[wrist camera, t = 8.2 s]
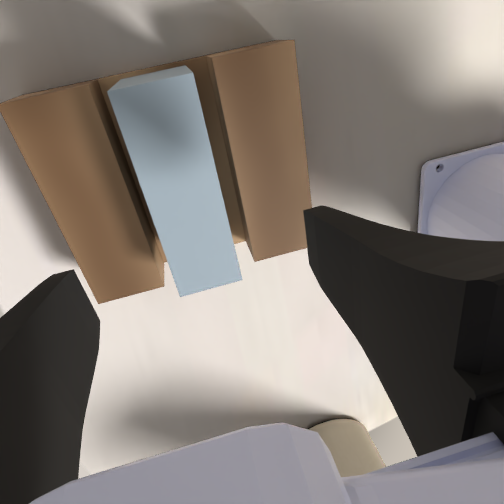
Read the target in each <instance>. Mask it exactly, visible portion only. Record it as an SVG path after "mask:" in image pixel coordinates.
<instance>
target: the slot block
mask: <svg viewBox="0 0 504 504" xmlns="http://www.w3.org/2000/svg"><path fill="white" fill-rule="evenodd" d="M184 65H186V66H187V67H188V68H189V69H190V70H191V71H192V72H193V74H194V79H195V83H196V87H197V91H198V95H199V100H200V104H201V108H202V112H203V116H204V121H205V125H206V129H207V133H208V137H209V142H210V146H211V150H212V154H213V158H214V163H215V167H216V171H217V175H218V179H219V184H220V188H221V192H222V196H223V200H224V205H225V209H226V213H227V217H228V221H229V226H230V230H231V234H232V238H233V242H234V244H236V243H240V242H244V241H246V242H247V245H248V247H249V250H250V252H251V254H252V257H253V259H254V261H255V262H256V261H260V260H263V259H267V258H271V257H275V256H278V255H282V254H286V253H289V252H293V251H297V250H300V249H304V248H307V240H306V231H305V222H304V214H303V210H306V209H310V208H312V205H311V195H310V185H309V176H308V166H307V157H306V147H305V137H304V128H303V118H302V109H301V99H300V89H299V80H298V70H297V61H296V51H295V41H294V40H275V41H270V42H266V43H261V44H256V45H252V46H247V47H242V48H238V49H233V50H229V51H224V52H219V53H215V54H210V55H205V56H201V57H196V58H192V59H187V60H182V61H178V62H173V63H168V64H164V65H159V66H155V67H150V68H145V69H141V70H136V71H131V72H127V73H122V74H118V75H113V76H108V77H104V78H99V79H94V80H90V81H85V82H81V83H76V84H71V85H67V86H62V87H57V88H53V89H48V90H44V91H39V92H34V93H30V94H25V95H21V96H18V97H16V98H13V99H10V100H8V101H5V102H2V103H0V112H1V114H2V116H3V118H4V120H5V122H6V124H7V126H8V128H9V130H10V131H11V133H12V135H13V137H14V139H15V141H16V143H17V145H18V147H19V149H20V151H21V153H22V155H23V157H24V159H25V161H26V163H27V165H28V167H29V169H30V171H31V173H32V175H33V177H34V179H35V181H36V183H37V184H38V186H39V188H40V190H41V192H42V194H43V196H44V198H45V200H46V202H47V204H48V206H49V208H50V210H51V212H52V214H53V216H54V218H55V220H56V222H57V224H58V226H59V228H60V230H61V232H62V234H63V236H64V237H65V239H66V241H67V243H68V245H69V247H70V249H71V251H72V253H73V255H74V257H75V259H76V261H77V263H78V265H79V267H80V269H81V271H82V273H83V275H84V277H85V279H86V281H87V283H88V285H89V287H90V288H91V290H92V292H93V294H94V296H95V298H96V300H97V302H98V304H101V303H104V302H108V301H112V300H115V299H119V298H123V297H127V296H130V295H134V294H138V293H141V292H145V291H149V290H152V289H156V288H160V287H164V262H168V261H167V259H166V256H165V253H164V250H163V247H162V245H161V242H160V239H159V236H158V233H157V231H156V228H155V225H154V222H153V219H152V216H151V214H150V211H149V208H148V205H147V202H146V200H145V197H144V194H143V191H142V188H141V186H140V183H139V180H138V177H137V174H136V172H135V169H134V166H133V163H132V160H131V158H130V155H129V152H128V149H127V146H126V144H125V141H124V138H123V135H122V132H121V130H120V127H119V124H118V121H117V118H116V116H115V113H114V110H113V107H112V104H111V102H110V99H109V96H108V93H107V91H108V90H109V89H110V88H111V87H113V86H114V85H115V84H116V83H117V82H118V81H119V80H120V79H124V78H129V77H133V76H138V75H143V74H147V73H152V72H156V71H161V70H165V69H170V68H175V67H179V66H184Z"/></svg>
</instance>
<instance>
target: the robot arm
mask: <svg viewBox="0 0 504 504" xmlns="http://www.w3.org/2000/svg"><path fill="white" fill-rule="evenodd" d="M439 164H440V166H439V168H438V169H437V170H436V167H437V166H438V165H439ZM303 214H304V222H305V231H306V240H307V248H308V257H309V264H310V266H311V269H312V271H313V273H314V275H315V277H316V279H317V281H318V283H319V285H320V287H321V288H322V290H323V291H324V293H325V294H326V296H327V297H328V298H329V300H330V301H331V303H332V304H333V306H334V307H335V308H336V310H337V311H338V313H339V314H340V316H341V317H342V318H343V320H344V321H345V323H346V324H347V325H348V327H349V328H350V330H351V331H352V333H353V334H354V335H355V337H356V338H357V340H358V342H359V343H360V345H361V346H362V348H363V350H364V352H365V353H366V355H367V357H368V359H369V361H370V363H371V364H372V366H373V368H374V370H375V372H376V374H377V375H378V377H379V379H380V381H381V383H382V385H383V387H384V389H385V391H386V393H387V395H388V397H389V399H390V400H391V402H392V404H393V406H394V408H395V411H396V413H397V415H398V417H399V419H400V420H401V423H402V425H403V427H404V429H405V431H406V433H407V435H408V437H409V439H410V441H411V443H412V446H413V448H414V450H415V452H416V454H417V456H418V457H415V458H412V459H409V460H406V461H403V462H400V463H397V464H394V465H391V466H388V467H384V468H381V469H378V470H375V471H372V472H369V473H366V474H363V475H357V476H349V477H341V476H340V474H339V471H338V469H337V467H336V464H335V462H334V459H333V457H332V454H331V452H330V450H329V449H328V447H327V446H326V444H325V443H324V441H323V439H322V438H321V436H320V435H319V433H318V432H315V431H312V430H308V429H305V428H301V427H297V426H294V425H290V424H287V423H283V422H281V423H273V424H266V425H258V426H251V427H245V428H242V429H239V430H236V431H232V432H229V433H226V434H223V435H219V436H216V437H213V438H210V439H206V440H203V441H200V442H197V443H193V444H190V445H187V446H184V447H180V448H177V449H174V450H171V451H167V452H164V453H161V454H158V455H154V456H151V457H148V458H145V459H141V460H138V461H135V462H132V463H128V464H125V465H122V466H119V467H115V468H112V469H109V470H106V471H102V472H99V473H96V474H93V475H89V476H86V477H83V478H80V479H78V472H79V460H80V449H81V439H82V429H83V423H84V417H85V412H86V408H87V403H88V398H89V394H90V389H91V384H92V380H93V375H94V371H95V366H96V361H97V356H98V350H99V338H100V320H99V318H98V316H97V314H96V312H95V310H94V308H93V306H92V304H91V302H90V300H89V298H88V296H87V295H86V293H85V291H84V289H83V287H82V285H81V283H80V281H79V279H78V277H77V275H76V273H75V271H74V269H73V270H69V271H65V272H61V273H58V274H54V275H52V276H50V277H49V278H47V279H46V280H44V281H43V282H42V283H41V284H39V285H38V286H37V287H36V288H35V289H33V290H32V291H31V292H30V293H29V294H28V295H26V296H25V297H24V298H23V299H22V300H21V301H19V302H18V303H17V304H16V305H15V306H14V307H13V308H11V309H10V310H9V311H8V312H7V313H6V314H5V315H3V316H2V317H1V318H0V504H504V142H500V143H496V144H492V145H488V146H484V147H480V148H476V149H473V150H469V151H465V152H461V153H457V154H453V155H449V156H445V157H441V158H437V159H434V160H430V161H427V162H426V163H425V164H424V165H423V167H422V170H421V183H420V200H419V216H418V232H417V233H416V232H411V231H406V230H402V229H398V228H394V227H390V226H386V225H382V224H379V223H376V222H372V221H369V220H366V219H363V218H360V217H357V216H354V215H351V214H348V213H345V212H342V211H339V210H336V209H333V208H330V207H326V206H318V207H314V208H310V209H306V210H303Z"/></svg>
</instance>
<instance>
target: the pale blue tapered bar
mask: <svg viewBox="0 0 504 504" xmlns="http://www.w3.org/2000/svg"><path fill="white" fill-rule="evenodd" d="M107 93H108V96H109V99H110V102H111V104H112V107H113V110H114V113H115V116H116V118H117V121H118V124H119V127H120V130H121V132H122V135H123V138H124V141H125V144H126V146H127V149H128V152H129V155H130V158H131V160H132V163H133V166H134V169H135V172H136V174H137V177H138V180H139V183H140V186H141V188H142V191H143V194H144V197H145V200H146V202H147V205H148V208H149V211H150V214H151V216H152V219H153V222H154V225H155V228H156V231H157V233H158V236H159V239H160V242H161V245H162V247H163V250H164V253H165V256H166V259H167V261H168V264H169V267H170V270H171V273H172V275H173V278H174V281H175V284H176V287H177V289H178V292H179V295H180V297H182V296H186V295H189V294H193V293H196V292H200V291H204V290H207V289H211V288H215V287H218V286H222V285H226V284H229V283H233V282H237V281H240V280H242V276H241V272H240V268H239V263H238V259H237V255H236V251H235V247H234V242H233V238H232V234H231V230H230V226H229V221H228V217H227V213H226V209H225V205H224V200H223V196H222V192H221V188H220V184H219V179H218V175H217V171H216V167H215V163H214V158H213V154H212V150H211V146H210V142H209V137H208V133H207V129H206V125H205V121H204V116H203V112H202V108H201V104H200V100H199V95H198V91H197V87H196V83H195V79H194V74H193V72H192V71H191V70H190V69H189V68H188V67H187V66H186V65H184V66H179V67H175V68H170V69H165V70H161V71H156V72H152V73H147V74H143V75H138V76H133V77H129V78H124V79H120V80H119V81H118V82H117V83H116V84H115V85H114V86H113V87H111V88H110V89H109V90H108V91H107Z"/></svg>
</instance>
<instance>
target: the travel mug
mask: <svg viewBox="0 0 504 504" xmlns="http://www.w3.org/2000/svg"><path fill="white" fill-rule="evenodd" d="M309 430H312V431H315V432H318V433H319V435H320V436H321V438H322V439H323V441H324V443H325V444H326V446H327V447H328V449H329V450H330V452H331V454H332V457H333V459H334V462H335V464H336V467H337V469H338V471H339V474H340V476H341V477H349V476H357V475H363V474H366V473H369V472H372V471H375V470H378V469H381V468H384V467H386V465H385V464H384V462H383V460H382V458H381V456H380V454H379V452H378V450H377V448H376V447H375V445H374V443H373V441H372V439H371V437H370V435H369V433H368V431H367V430H366V428H365V426H364V425H363V424H361V423H360V422H358V421H355V420H350V419H337V420H331V421H327V422H324V423H321V424H318V425H316V426H314V427H312V428H310V429H309Z"/></svg>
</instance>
